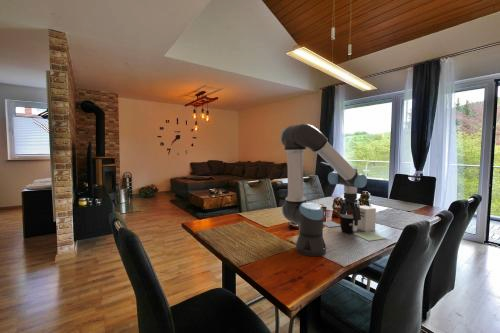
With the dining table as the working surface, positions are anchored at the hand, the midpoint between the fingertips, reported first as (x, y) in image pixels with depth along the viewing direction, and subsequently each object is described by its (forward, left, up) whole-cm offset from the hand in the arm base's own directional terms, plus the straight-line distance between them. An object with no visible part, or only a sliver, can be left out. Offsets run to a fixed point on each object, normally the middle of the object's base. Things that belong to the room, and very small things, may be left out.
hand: (349, 228), depth 148 cm
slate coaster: (-2, +16, -3) cm, 16 cm away
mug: (0, 0, -3) cm, 3 cm away
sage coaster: (+6, -10, -3) cm, 12 cm away
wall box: (+15, +3, -3) cm, 15 cm away
